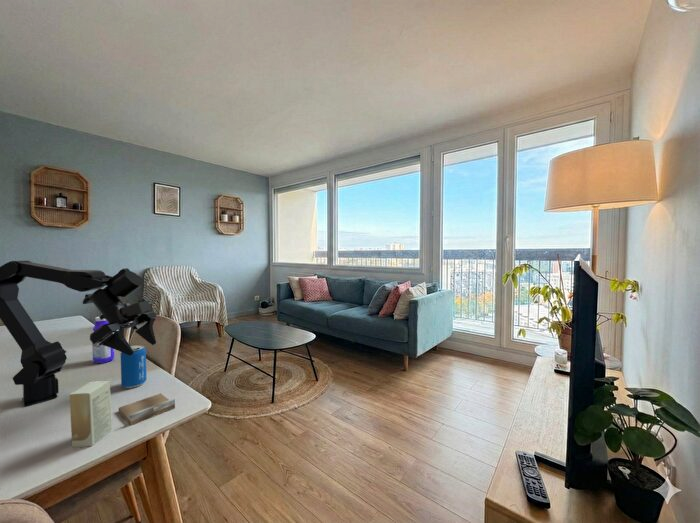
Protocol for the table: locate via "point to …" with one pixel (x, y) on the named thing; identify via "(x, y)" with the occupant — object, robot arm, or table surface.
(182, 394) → the table surface
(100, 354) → the bottle
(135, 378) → the beverage can
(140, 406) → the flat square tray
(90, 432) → the skincare box
